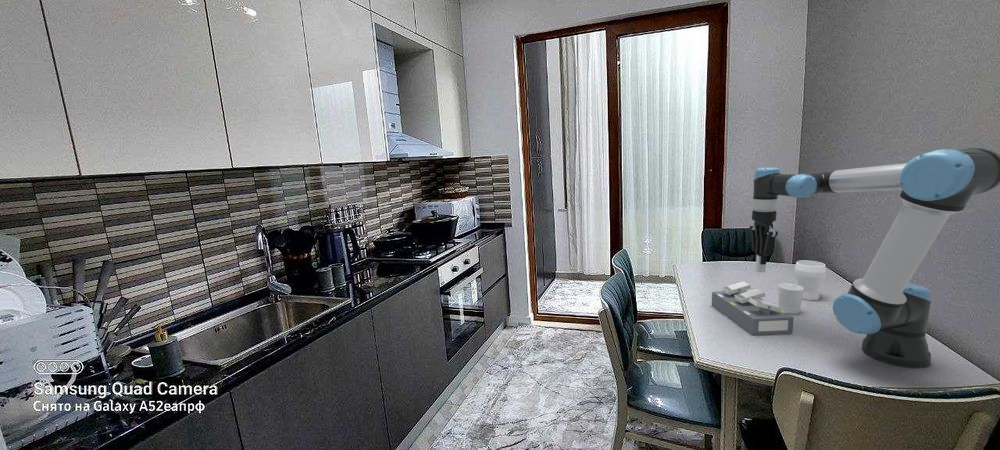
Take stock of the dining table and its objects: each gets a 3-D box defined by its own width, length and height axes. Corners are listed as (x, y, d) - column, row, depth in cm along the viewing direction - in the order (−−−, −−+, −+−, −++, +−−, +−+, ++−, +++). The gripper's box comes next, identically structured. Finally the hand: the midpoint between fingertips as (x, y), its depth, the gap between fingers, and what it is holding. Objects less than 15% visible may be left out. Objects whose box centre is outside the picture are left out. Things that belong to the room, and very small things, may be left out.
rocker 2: (766, 296, 149) (765, 292, 149) (742, 303, 149) (741, 299, 149) (757, 292, 154) (756, 287, 154) (734, 298, 155) (733, 294, 154)
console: (792, 333, 139) (794, 312, 138) (752, 335, 139) (753, 314, 138) (745, 303, 167) (746, 286, 165) (711, 305, 167) (712, 287, 166)
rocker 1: (751, 288, 158) (750, 284, 157) (729, 295, 158) (728, 291, 158) (743, 284, 163) (742, 280, 162) (722, 290, 163) (721, 287, 163)
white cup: (805, 315, 153) (807, 290, 151) (782, 314, 155) (784, 290, 153) (795, 307, 161) (796, 283, 159) (773, 306, 162) (774, 283, 160)
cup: (829, 298, 167) (832, 264, 164) (813, 303, 163) (816, 268, 161) (802, 291, 177) (805, 258, 174) (786, 295, 173) (789, 262, 170)
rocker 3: (780, 312, 140) (782, 308, 140) (756, 306, 140) (758, 301, 140) (771, 307, 146) (772, 302, 145) (747, 301, 145) (749, 296, 145)
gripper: (787, 212, 139) (782, 276, 143) (763, 207, 152) (759, 266, 156) (765, 213, 139) (761, 277, 143) (743, 208, 152) (740, 267, 156)
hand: (760, 271), depth 150 cm, fingers closed
